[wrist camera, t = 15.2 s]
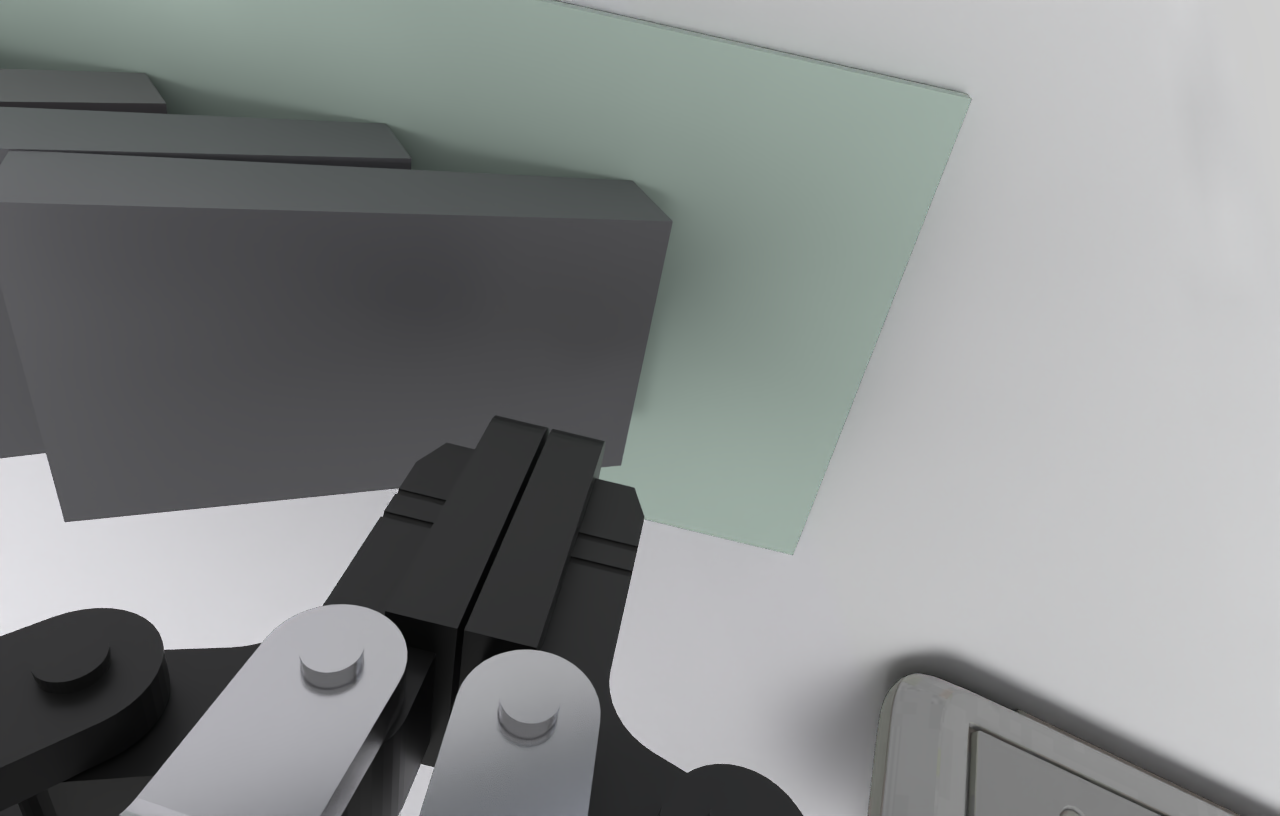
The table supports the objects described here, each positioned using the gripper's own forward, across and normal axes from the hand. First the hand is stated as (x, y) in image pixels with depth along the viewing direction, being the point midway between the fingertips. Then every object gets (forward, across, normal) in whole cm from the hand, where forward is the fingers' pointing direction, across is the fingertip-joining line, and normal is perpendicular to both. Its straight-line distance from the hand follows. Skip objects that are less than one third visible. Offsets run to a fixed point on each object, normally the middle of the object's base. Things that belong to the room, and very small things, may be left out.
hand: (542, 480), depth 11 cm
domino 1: (+5, 0, 0) cm, 5 cm away
